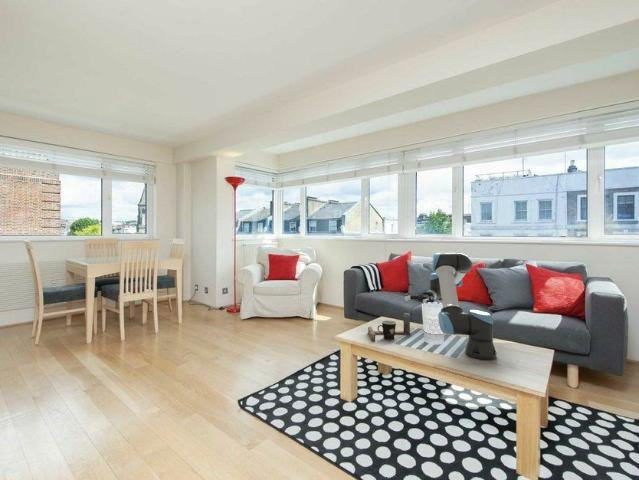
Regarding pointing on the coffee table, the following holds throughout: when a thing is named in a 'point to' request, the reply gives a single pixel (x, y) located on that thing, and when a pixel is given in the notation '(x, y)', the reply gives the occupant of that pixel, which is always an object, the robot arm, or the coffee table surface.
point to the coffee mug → (388, 329)
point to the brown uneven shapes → (406, 331)
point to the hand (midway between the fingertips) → (414, 300)
